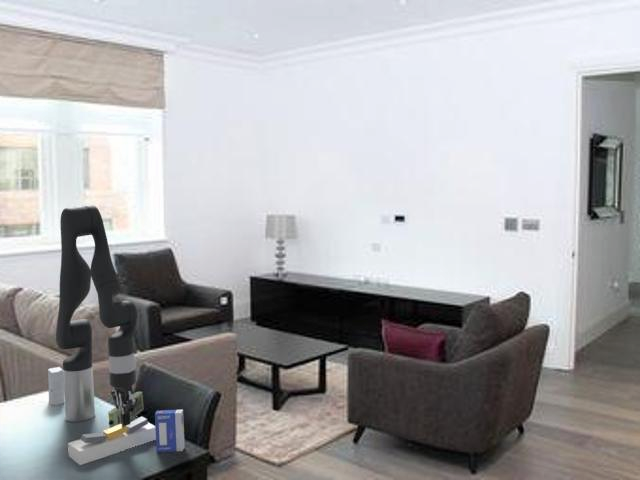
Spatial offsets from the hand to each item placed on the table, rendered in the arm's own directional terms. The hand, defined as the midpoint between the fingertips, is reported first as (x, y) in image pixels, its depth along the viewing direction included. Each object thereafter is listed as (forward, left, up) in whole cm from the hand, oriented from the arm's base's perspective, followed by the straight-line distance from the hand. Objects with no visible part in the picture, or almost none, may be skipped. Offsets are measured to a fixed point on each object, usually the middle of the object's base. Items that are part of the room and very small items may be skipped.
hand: (125, 424), depth 188 cm
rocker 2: (0, +4, -3) cm, 5 cm away
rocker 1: (0, -3, -3) cm, 4 cm away
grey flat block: (0, -10, -3) cm, 11 cm away
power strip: (-2, -3, -7) cm, 8 cm away
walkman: (+12, +8, -7) cm, 16 cm away
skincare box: (-53, 0, -7) cm, 53 cm away
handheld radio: (-17, +7, -7) cm, 20 cm away
